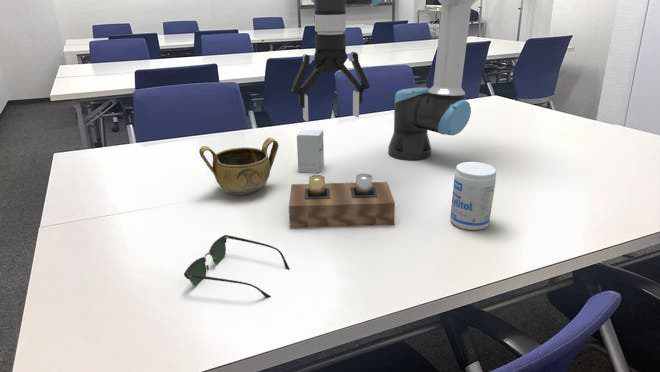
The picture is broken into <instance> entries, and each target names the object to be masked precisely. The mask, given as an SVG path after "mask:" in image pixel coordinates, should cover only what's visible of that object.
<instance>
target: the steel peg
mask: <svg viewBox="0 0 660 372" xmlns="http://www.w3.org/2000/svg"><path fill="white" fill-rule="evenodd" d="M372 182H373V176H372V174H369V173H358V174H356V175H355V183H356V196H357V195H372Z"/></svg>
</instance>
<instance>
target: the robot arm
mask: <svg viewBox="0 0 660 372" xmlns="http://www.w3.org/2000/svg"><path fill="white" fill-rule="evenodd" d="M310 1H311V2H312V3H313V4H314V31H315V33H316V32H317V33H316V34H315V35H314V43H315V44H314V47H315V51H314V52H315V53H314V54H307V53H304V54H302V61H301V65H300V67H299V70H298V71H297V75H296V76H295V79H294V81H293V84H292V86H291V89H290V91H291V92H292V93H293V94H297V95H298V106H299V108H300V109H302V117H303V120H304V121H305V122H309V99H308V98H309V96H308V95H307V94H306V93H307V92H308V91H309V89H310V87H311V86H312V85H313V84H314V83H315V81H316V80H317V78H318V77H319V76H320V75H321V74H322V73H323V72H325V73H331V72H333V73H337V72H339V71H340V72H341V73H342V74H343V76H344V77H345V78H346V79H347V81H349V82H350V84H351V85H352V86H353V88H354V89H355V90H352V116H353V117H355V118H360V105H362V104H363V93H364V92H365V90H367V89H370V87H371V85H370V83H369V81H368V79H367V77H366V74H365V72H364V70H363V68H362V66H361V64H360V62H359V60H360V59H359V53H357V52H355V51H351V52H350V53H347V52H346V51H347V49H346V47H347V46H346V45H347V44H346V42H347V41H346V39H347V38H346V34H345V33H344V32H346V30H347V28H346V27H347V25H346V23H347V21H346V17H347V16H346V14H347V12H346V10H347V9H346V8H347V7H370V6H376V5H379V4H380V2H382V0H310ZM437 1H438V2H439V3H440V5H441V11H440V19H439V20H440V21H439V29H438V39H437V47H436V48H437V49H436V59H435V68H434V69H435V70H434V76H433V85H432V86H431V87H430V88H429V87H412V88H404V89H400V90H397V92H396V93H395V95H394V96H395V97H394V98H395V99H394V105H393V106H394V108H393V110H394V111H393V114H394V115H393V116H394V117H393V118H394V119H393V120H394V121H393V134H392V135H391V136H392V137H391V139H390V142H389V145H388V151H387V153H388V155H389V156H390V157H392V158H394V159H399V160H406V161H419V160H420V161H421V160H425V159H427V158H430V156H431V155H432V145H431V141H430V138H429V134H428V132H429V131H430V132H434V133H437V134H440V135H445V136H455V135H458V134H460V133H461V132H462V131H463V130H464V129H465V128H466V126H467V125H468V122H469V121H470V118H471V115H472V107H471V104H470V102H468V101H467V100H466V91H464V89H463V87H462V83H463V76H464V75H463V74H464V65H465V60H466V59H465V58H466V49H467V42H468V37H469V36H468V35H469V27H470V18H471V13H472V12H471V9H472V6H473V5H474V4H475V3H476V2H477V1H478V0H437ZM347 60H348V61H349V62H351V65H352V66H353V69H354V71H355V73H356V75H357V77H358V80H359V81H360V83H359V81H358V80H357V79H356V77H354V75H353V74H352V73H351V72H350V71H349V69H348V67H347V66H346V65H345V63H346V61H347ZM313 61H314V62H315V63H316V65H315V67H313V70H312V72H310V74H309V76H308V77H307V78H306V79H305V76H306V73H307V71H308V69H309V66H310V65H311V64H312V63H313ZM304 79H305V80H304ZM303 80H304V82H303ZM302 83H303V84H302Z"/></svg>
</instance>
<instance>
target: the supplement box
mask: <svg viewBox="0 0 660 372" xmlns="http://www.w3.org/2000/svg"><path fill="white" fill-rule="evenodd" d="M296 148H297V172H299V173H314V174H319V173H321V171H322V169H323V168H324V165H325V164H324V163H325V159H324V158H325V154H324V149H325V148H324V129H315V128H314V129H313V128H311V129H310V128H309V129H307V128H306V129H301V130H300V131H299V132H298V133H297V134H296Z"/></svg>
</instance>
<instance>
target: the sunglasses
mask: <svg viewBox="0 0 660 372" xmlns="http://www.w3.org/2000/svg"><path fill="white" fill-rule="evenodd" d="M227 239H229V240H235V241H240V242H244V243H249V244H254V245H260V246H264V247H267V248H270V249H273V250H275V251H277V252H278V253H279V255H280V256H281V258H282V261H283V264H284V268H285V269H286V270H288V271H290V270H291V269H290V266H289V265H288V262H287V261H286V258H285V256H284V254H283V253H282V252H281V250H280V249H279V248H278V247H275V246H273V245H270V244H266V243H262V242H259V241H254V240H252V239H251V240H250V239H246V238H243V237H237V236H234V235H233V236H232V235H228V234H224V235H222V236H221V237H219V238H217V239H216V240H214V242H213V243H212V244H211V246H210V248H209V251H208V252H206V253H205V254H204V256H202V257H200V258H198V259H195V260H194V261H193V262H191V264H190V265H189V266H188V267H187V268H186V269H185V271H184V273H183V276H184V277H185V278H186V279H187V280H188V281H189V282H190V284H191V285H192V287H197V286H198V285H200V284H201V282H202V281H203V280H211V281H218V282H219V281H220V282H226V283H235V284H242V285H245V286H250V287H252V288H255V289H256V290H257V291H259V292H260V293H261V294H262V296H263V297H264V298H271V297H272V296H271V295H270V294H268V293H267V292H265V291H264V290H262V289H261V288H260V287H258V286H256V285H253V284H251V283H248V282H244V281H238V280H233V279H225V278H221V277H220V278H219V277H212V276H207V271H209V270H210V267H209V264H206V262H207V258H206V257H207V256H208V255H209V256H211V258H212V262H213V263H214V264H215V265H216V266H219V264H220V263H221V262H222V261H223V259H225V257H226V254H227V247H226V243H227Z"/></svg>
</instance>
